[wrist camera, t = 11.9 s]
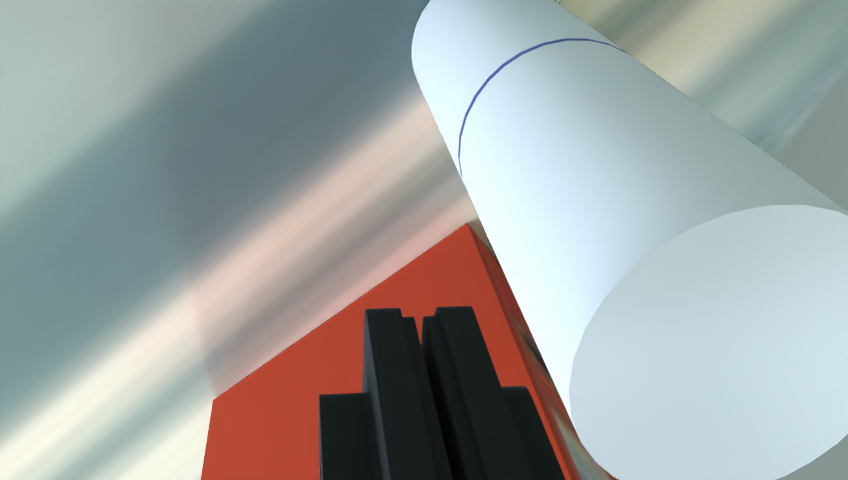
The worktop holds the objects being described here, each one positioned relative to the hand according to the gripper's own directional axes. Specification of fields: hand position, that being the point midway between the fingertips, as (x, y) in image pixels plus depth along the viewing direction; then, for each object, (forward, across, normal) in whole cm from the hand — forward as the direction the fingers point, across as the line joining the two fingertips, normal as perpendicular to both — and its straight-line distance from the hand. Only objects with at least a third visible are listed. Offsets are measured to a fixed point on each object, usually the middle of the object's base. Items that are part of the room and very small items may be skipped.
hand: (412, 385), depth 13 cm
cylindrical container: (+27, -7, +2) cm, 28 cm away
